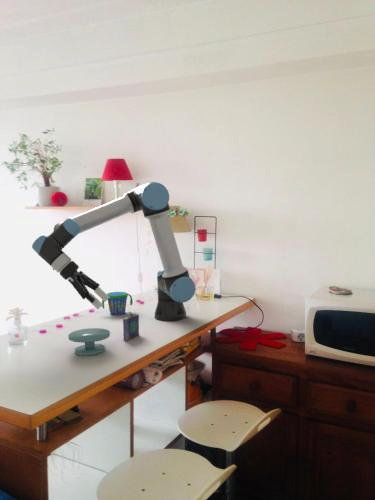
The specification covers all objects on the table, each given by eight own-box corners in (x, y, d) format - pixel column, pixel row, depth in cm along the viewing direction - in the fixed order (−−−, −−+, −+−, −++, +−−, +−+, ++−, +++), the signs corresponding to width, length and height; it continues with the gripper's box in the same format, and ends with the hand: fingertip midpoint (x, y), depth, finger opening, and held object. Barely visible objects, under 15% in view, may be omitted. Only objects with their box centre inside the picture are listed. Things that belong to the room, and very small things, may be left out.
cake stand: (113, 344, 172) (113, 327, 172) (106, 357, 157) (105, 339, 157) (75, 344, 173) (74, 328, 172) (63, 357, 158) (63, 340, 157)
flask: (127, 341, 176) (126, 314, 175) (121, 340, 177) (120, 314, 176) (140, 335, 184) (139, 309, 183) (134, 334, 185) (134, 309, 184)
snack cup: (129, 309, 231) (129, 290, 230) (135, 313, 221) (135, 293, 220) (100, 312, 224) (99, 293, 223) (104, 317, 215) (103, 296, 214)
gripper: (68, 269, 191) (104, 303, 192) (49, 278, 166) (90, 317, 167) (80, 256, 190) (116, 290, 191) (62, 264, 166) (104, 303, 167)
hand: (104, 303), depth 179 cm, fingers open, 13 cm apart
